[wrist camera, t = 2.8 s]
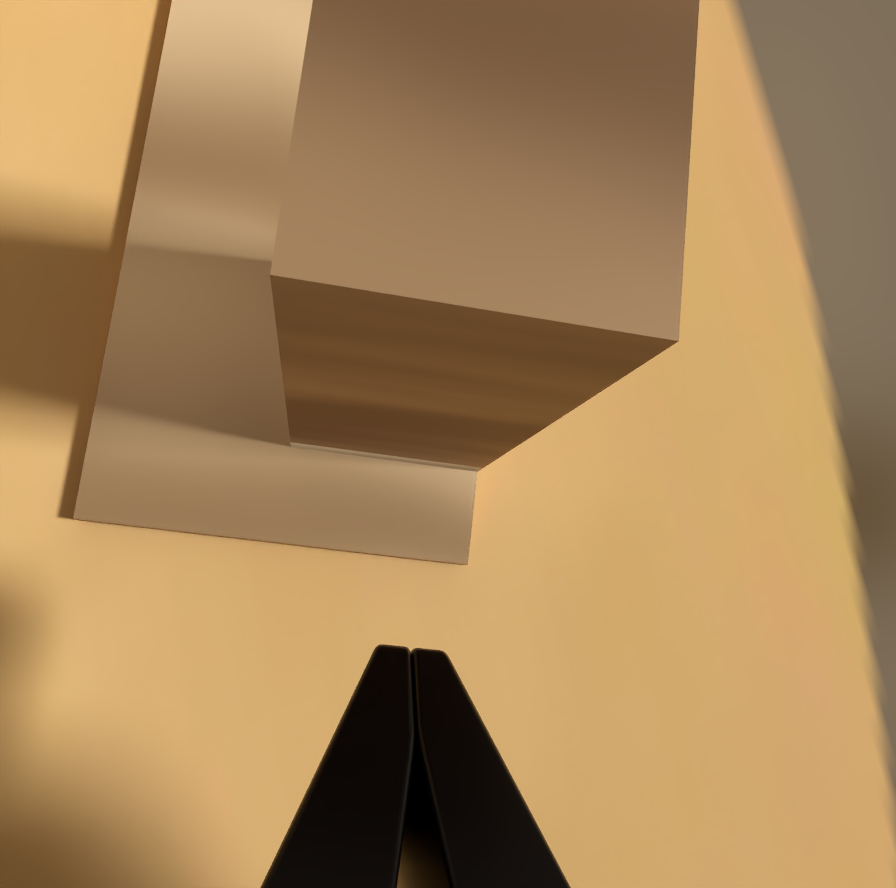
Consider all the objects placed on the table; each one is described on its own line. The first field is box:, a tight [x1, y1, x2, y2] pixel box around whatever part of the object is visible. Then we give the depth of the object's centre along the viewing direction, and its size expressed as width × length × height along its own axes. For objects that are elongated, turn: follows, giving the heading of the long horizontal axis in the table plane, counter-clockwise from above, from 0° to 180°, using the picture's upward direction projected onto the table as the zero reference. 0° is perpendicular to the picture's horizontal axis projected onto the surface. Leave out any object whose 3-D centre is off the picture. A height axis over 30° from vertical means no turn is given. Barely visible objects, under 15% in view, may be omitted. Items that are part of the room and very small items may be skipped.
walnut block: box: [270, 0, 699, 472], centre depth 13 cm, size 4×4×10 cm
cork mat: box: [73, 0, 477, 565], centre depth 18 cm, size 14×8×1 cm, turn 174°
